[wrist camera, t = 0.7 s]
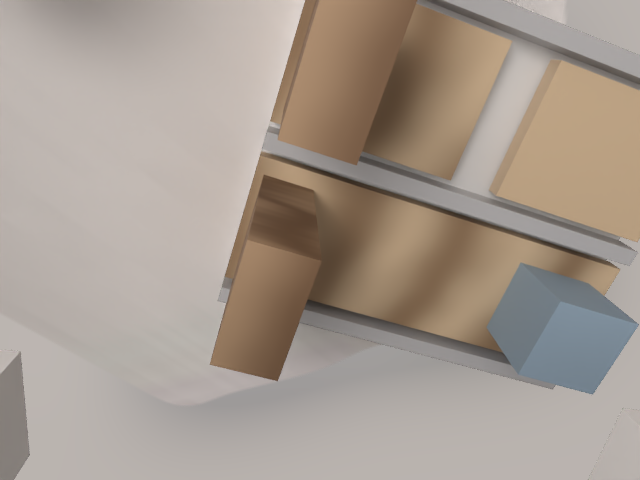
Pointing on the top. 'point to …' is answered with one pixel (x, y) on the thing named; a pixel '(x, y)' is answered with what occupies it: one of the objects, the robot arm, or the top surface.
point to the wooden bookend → (386, 83)
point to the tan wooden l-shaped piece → (367, 264)
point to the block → (559, 329)
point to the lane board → (517, 162)
